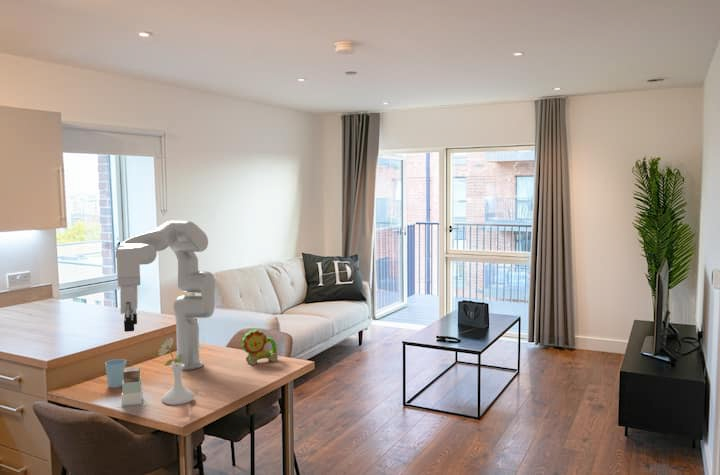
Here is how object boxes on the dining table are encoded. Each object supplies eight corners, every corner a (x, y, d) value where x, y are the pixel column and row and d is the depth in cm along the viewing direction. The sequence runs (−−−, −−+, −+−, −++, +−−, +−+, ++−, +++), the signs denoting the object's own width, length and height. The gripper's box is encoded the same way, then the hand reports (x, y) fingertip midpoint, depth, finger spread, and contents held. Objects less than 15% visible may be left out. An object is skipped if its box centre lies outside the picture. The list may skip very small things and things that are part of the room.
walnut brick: (139, 377, 208) (139, 366, 208) (138, 381, 203) (138, 370, 203) (125, 378, 207) (124, 367, 206) (123, 382, 202) (123, 371, 202)
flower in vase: (181, 394, 216) (179, 330, 214) (200, 400, 209) (199, 334, 207) (151, 404, 205) (149, 337, 203) (171, 412, 198) (169, 342, 196)
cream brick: (123, 399, 208) (123, 388, 208) (142, 397, 210) (142, 386, 209) (121, 405, 202) (121, 394, 201) (141, 403, 203) (140, 392, 203)
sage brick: (124, 388, 207) (123, 377, 207) (141, 386, 209) (141, 376, 209) (122, 394, 202) (122, 383, 201) (140, 392, 204) (140, 381, 203)
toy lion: (273, 358, 263) (273, 326, 261) (278, 361, 258) (277, 328, 257) (240, 363, 255) (240, 330, 253) (244, 366, 250) (244, 333, 249)
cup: (114, 392, 217) (114, 365, 217) (101, 389, 221) (100, 363, 220) (131, 386, 224) (130, 360, 223) (117, 383, 228) (116, 358, 227)
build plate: (119, 400, 209) (119, 397, 209) (148, 397, 212) (148, 395, 212) (115, 410, 200) (115, 407, 199) (145, 407, 202) (145, 404, 202)
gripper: (120, 277, 209) (122, 322, 211) (114, 286, 193) (116, 334, 195) (142, 276, 211) (144, 321, 213) (137, 285, 195) (139, 333, 197)
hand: (131, 327), depth 204 cm, fingers open, 9 cm apart
